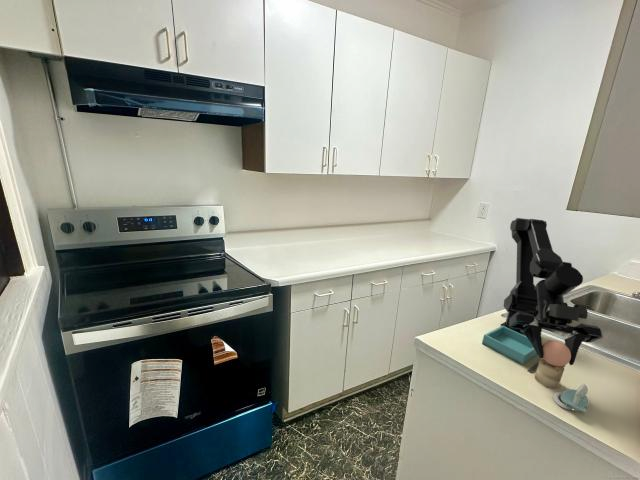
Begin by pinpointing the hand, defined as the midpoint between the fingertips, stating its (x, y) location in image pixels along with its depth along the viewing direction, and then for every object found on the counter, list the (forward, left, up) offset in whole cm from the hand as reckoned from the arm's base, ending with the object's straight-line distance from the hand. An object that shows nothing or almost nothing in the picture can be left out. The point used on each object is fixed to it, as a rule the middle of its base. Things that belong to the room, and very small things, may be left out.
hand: (556, 361), depth 77 cm
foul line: (-8, -5, -7) cm, 12 cm away
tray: (-8, -13, -7) cm, 17 cm away
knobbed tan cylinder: (-1, -1, -7) cm, 7 cm away
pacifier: (+3, +5, -7) cm, 9 cm away
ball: (-1, -1, +1) cm, 2 cm away
